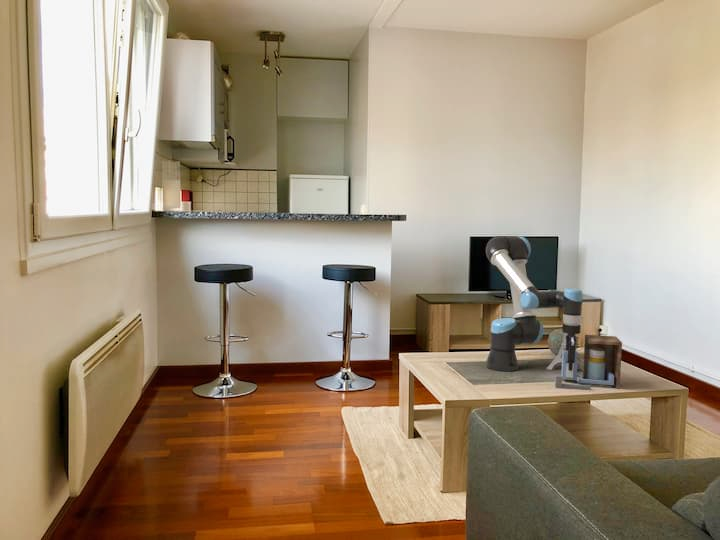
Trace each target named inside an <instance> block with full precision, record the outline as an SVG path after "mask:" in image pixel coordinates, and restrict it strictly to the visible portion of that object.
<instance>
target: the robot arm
mask: <svg viewBox="0 0 720 540" xmlns="http://www.w3.org/2000/svg"><path fill="white" fill-rule="evenodd" d="M531 252H532V248H531V244H530V242H529V240H528V239H527V238H526V237H525V236H519V235H504V236H503V235H499V236H498V235H497V236H493V237H492V238H491V239H490V240H488V242H487V243H486V247H485V254H486V257H487V259H488V261H489V262H490V263H491V265H492V266H496V267H497V269H498V270H499V271H500V272H501V273H502V275H503V276H504V278H506V280H507V281H508V282H509V286H510V287H509V288H510V292H511V293H510V294H511V300H512V306H513V313H514V315H513V316H512V317H502V318H500V317H499V318H496V319H494V320H492V322H491V327H490V346H489V347H490V350H489V353H488V355H487V359H486V361H485V362H486V363H485V366H487V367H488V369H489V368H491V369H490V370H492V369H494V370H493V371H497V370H499V371H500V372H515V371H517V370H519V362H518V359H517V354H516V346H521V345H532V344H537V343H539V342H540V341H541V340H542V338H543V336H544V324H543V323H542V321H541V320H539V319H537V314H536V313H534V312H533V310H535V309H536V310H537V309H552V308H556V309H561V310H562V309H563V314H562V323H563V324H562V327H561V328H562V331H563V332H564V333H568V334H567V335H566V351H568V361H566V363H567V374H566V377H571V378H573V368H574V363H575V346H576V338H575V335H580V334H581V329H582V328H581V327H582V326H581V324H582V320H583V317H582V308H583V291H582V290H581V289H579V288H565V289H564V290H563V291H560V290H557V289H548V290H545V291H542V290H541V291H539V290H538V289H537V288H536V287H535V285H533V283H532V282H531V281H530V279H529V278H528V276H527V270H526V264H527V263H528V259H529V257H530V255H531ZM487 367H486V368H487ZM499 371H498V372H499Z"/></svg>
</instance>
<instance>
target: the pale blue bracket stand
mask: <svg viewBox="0 0 720 540" xmlns="http://www.w3.org/2000/svg"><path fill="white" fill-rule="evenodd" d="M578 360H579V352H578V351H577V350H576V351H575V363H574V368H573V378H571V377H566V374H567V363H566V361H568V351H566V350H563V353H562V366H561V374H560V375H562V380H573V381H577V383H578V384H589V385H594V384H602V385H604V386H605V385H606V386H614V375H613V374H612V373H611V371H610V370H606V378H605V379H606V380H607V381H604V380H590V379H583V378H582V377H581V375H579V374H578V369H577V368H578V367H577V363H578Z"/></svg>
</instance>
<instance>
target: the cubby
mask: <svg viewBox="0 0 720 540" xmlns="http://www.w3.org/2000/svg"><path fill="white" fill-rule="evenodd" d="M583 346H584V347H583V348H584V349H583V350H584V352H583V364H582V366H583V370H582V379H587V374H588V359H589V356H590V349H591V348H599V349H604V350H605V355H604V356H605V357H604V358H605V377H604V381H607V380H606V379H605V378H606V370H610V371H611V373H612V374H613V375H614V385H613V386H614V388H615V387H616V388H615V389H616V390H620V388H621V387H620V386H621V382H620V381H621V372H622V371H621V368H622V352H623V351H622V350H623V342H622V341H621V340H620V339H619V337H617V336H616V335H615V336H613V335H597V334H584V345H583Z"/></svg>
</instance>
